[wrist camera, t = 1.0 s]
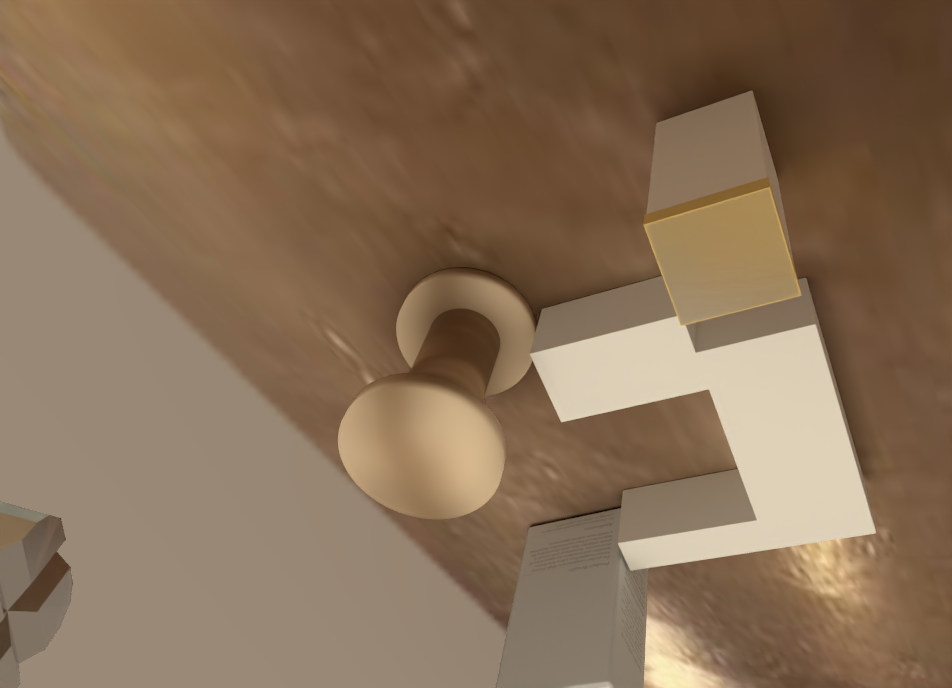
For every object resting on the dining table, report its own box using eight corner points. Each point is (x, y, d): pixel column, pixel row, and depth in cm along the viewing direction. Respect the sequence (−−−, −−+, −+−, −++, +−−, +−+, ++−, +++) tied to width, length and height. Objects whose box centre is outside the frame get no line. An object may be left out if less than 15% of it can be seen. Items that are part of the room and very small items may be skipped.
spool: (505, 250, 43) (459, 369, 35) (558, 368, 46) (528, 503, 38) (378, 289, 45) (308, 408, 37) (436, 398, 48) (384, 530, 40)
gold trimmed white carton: (753, 88, 37) (769, 186, 28) (778, 178, 38) (801, 295, 30) (654, 122, 38) (643, 224, 30) (684, 207, 40) (680, 325, 32)
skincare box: (556, 574, 54) (524, 761, 44) (525, 520, 52) (485, 702, 42) (655, 556, 52) (645, 748, 42) (626, 499, 50) (609, 686, 40)
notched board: (795, 239, 40) (803, 283, 36) (863, 476, 46) (876, 533, 42) (541, 309, 44) (529, 353, 41) (634, 516, 50) (630, 570, 47)
